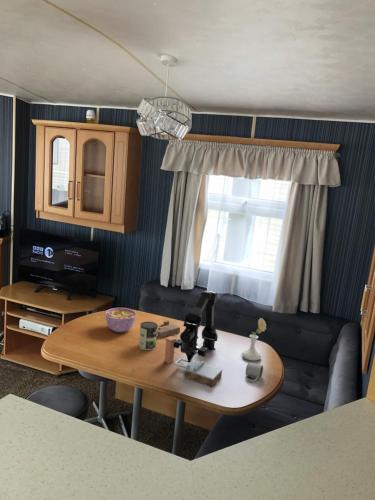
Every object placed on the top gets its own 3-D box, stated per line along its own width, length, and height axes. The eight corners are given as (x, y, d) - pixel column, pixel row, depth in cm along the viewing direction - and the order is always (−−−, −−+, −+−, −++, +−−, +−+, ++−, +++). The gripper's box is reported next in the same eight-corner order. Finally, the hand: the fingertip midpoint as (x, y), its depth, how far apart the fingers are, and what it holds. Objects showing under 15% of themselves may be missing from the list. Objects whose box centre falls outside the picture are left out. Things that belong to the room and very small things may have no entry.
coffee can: (157, 344, 243) (159, 322, 240) (153, 351, 233) (154, 329, 230) (141, 341, 245) (143, 320, 242) (136, 348, 235) (138, 326, 232)
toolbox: (184, 377, 208) (185, 370, 207) (194, 367, 219) (195, 361, 218) (212, 387, 201) (212, 380, 200) (221, 377, 212) (221, 370, 211)
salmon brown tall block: (168, 358, 226) (170, 336, 223) (174, 361, 224) (176, 338, 221) (163, 361, 223) (165, 338, 220) (168, 363, 220) (170, 340, 218)
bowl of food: (110, 322, 269) (111, 305, 267) (138, 326, 267) (139, 310, 265) (99, 333, 250) (100, 316, 248) (130, 338, 248) (131, 321, 245)
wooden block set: (181, 325, 262) (160, 331, 250) (180, 333, 263) (159, 339, 251) (165, 316, 274) (144, 321, 262) (165, 324, 275) (143, 329, 263)
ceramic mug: (248, 371, 220) (249, 359, 219) (262, 375, 217) (264, 363, 215) (242, 380, 211) (244, 367, 209) (257, 385, 208) (259, 371, 206)
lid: (171, 365, 211) (172, 361, 211) (182, 357, 221) (182, 353, 221) (212, 380, 201) (213, 375, 200) (221, 370, 211) (222, 366, 210)
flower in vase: (248, 363, 230) (254, 323, 224) (237, 354, 239) (242, 315, 234) (266, 360, 236) (272, 321, 230) (255, 351, 245) (260, 313, 240)
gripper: (169, 335, 206) (166, 363, 210) (201, 345, 198) (198, 374, 202) (179, 328, 216) (177, 355, 219) (210, 338, 208) (207, 365, 211)
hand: (189, 362), depth 213 cm, fingers closed
